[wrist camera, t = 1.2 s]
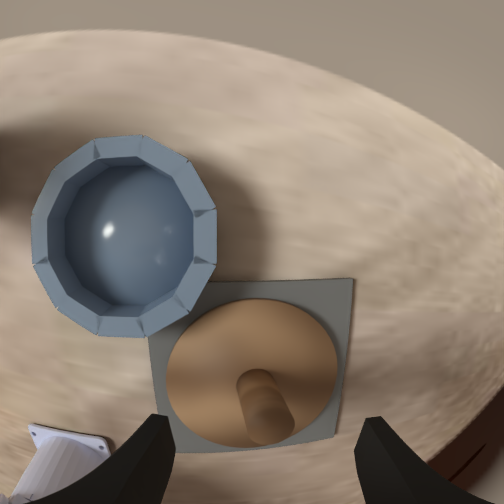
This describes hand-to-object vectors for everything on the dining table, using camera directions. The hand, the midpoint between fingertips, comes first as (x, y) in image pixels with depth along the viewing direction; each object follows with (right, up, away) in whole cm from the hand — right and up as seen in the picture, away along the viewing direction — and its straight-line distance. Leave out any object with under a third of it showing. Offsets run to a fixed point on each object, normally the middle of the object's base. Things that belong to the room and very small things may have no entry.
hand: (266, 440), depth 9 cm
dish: (-8, +8, +9) cm, 14 cm away
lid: (0, -2, +10) cm, 11 cm away
